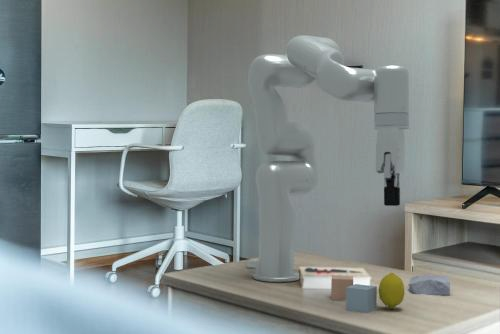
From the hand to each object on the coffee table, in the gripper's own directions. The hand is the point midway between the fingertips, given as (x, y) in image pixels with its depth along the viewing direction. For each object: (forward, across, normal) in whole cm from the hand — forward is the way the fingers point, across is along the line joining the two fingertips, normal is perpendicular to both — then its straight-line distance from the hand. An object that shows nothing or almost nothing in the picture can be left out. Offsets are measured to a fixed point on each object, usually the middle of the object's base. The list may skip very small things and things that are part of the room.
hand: (392, 205), depth 163 cm
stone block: (+23, -24, +4) cm, 33 cm away
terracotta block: (+22, -6, -13) cm, 27 cm away
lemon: (+23, +1, 0) cm, 23 cm away
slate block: (+23, +4, -6) cm, 24 cm away
